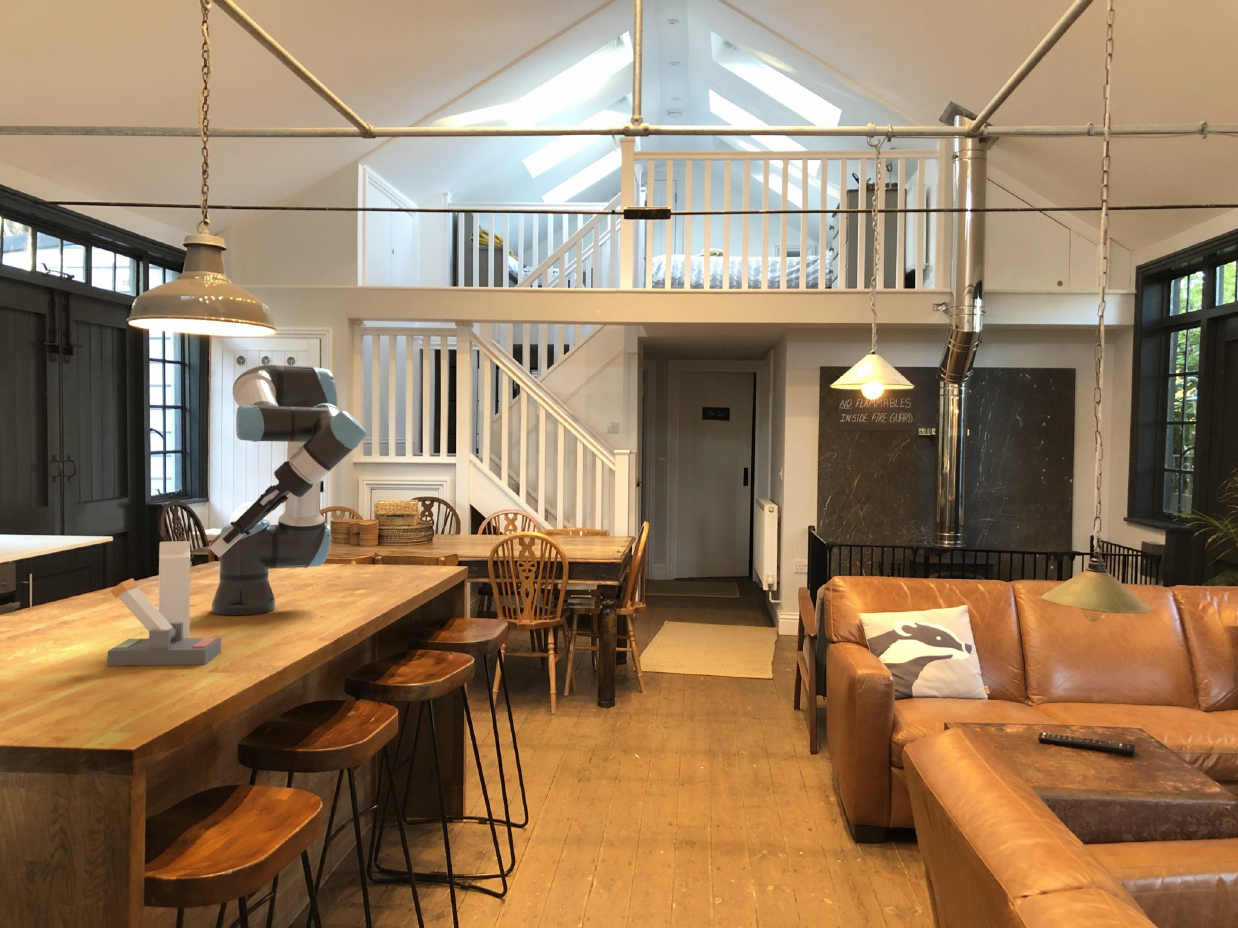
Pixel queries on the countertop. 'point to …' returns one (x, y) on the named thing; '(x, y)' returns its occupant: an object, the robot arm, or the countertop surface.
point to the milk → (175, 582)
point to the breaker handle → (142, 607)
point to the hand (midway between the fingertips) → (214, 551)
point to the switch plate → (165, 649)
